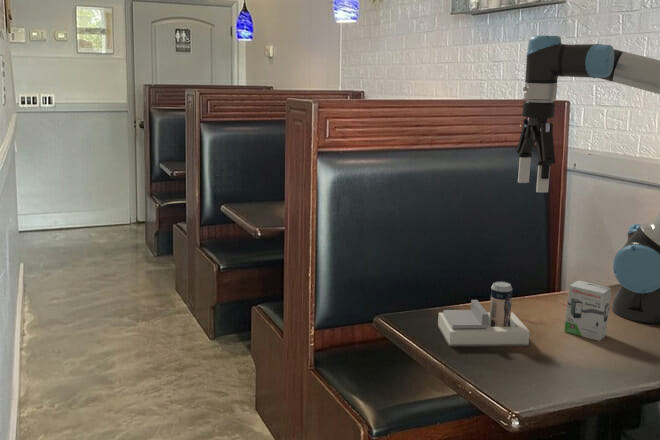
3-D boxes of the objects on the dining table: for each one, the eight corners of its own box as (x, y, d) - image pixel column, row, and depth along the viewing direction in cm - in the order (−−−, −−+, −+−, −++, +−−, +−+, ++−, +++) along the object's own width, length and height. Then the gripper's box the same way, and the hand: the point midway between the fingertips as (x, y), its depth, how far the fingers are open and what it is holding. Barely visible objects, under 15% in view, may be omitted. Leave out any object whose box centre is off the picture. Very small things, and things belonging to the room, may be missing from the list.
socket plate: (511, 325, 166) (512, 312, 166) (528, 345, 155) (529, 331, 154) (437, 326, 165) (438, 312, 164) (449, 346, 154) (450, 331, 153)
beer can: (510, 338, 158) (513, 288, 155) (488, 336, 158) (492, 286, 156) (508, 330, 162) (511, 281, 159) (487, 328, 163) (490, 280, 160)
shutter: (476, 313, 164) (477, 299, 163) (487, 328, 154) (488, 314, 154) (443, 313, 163) (443, 300, 163) (452, 328, 154) (453, 314, 153)
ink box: (562, 331, 163) (567, 284, 161) (570, 326, 167) (575, 279, 164) (599, 341, 158) (605, 292, 155) (607, 335, 162) (612, 287, 159)
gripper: (508, 98, 180) (502, 178, 184) (542, 104, 155) (534, 196, 160) (536, 98, 180) (530, 179, 185) (575, 104, 156) (566, 196, 160)
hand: (532, 187), depth 172 cm, fingers open, 13 cm apart
